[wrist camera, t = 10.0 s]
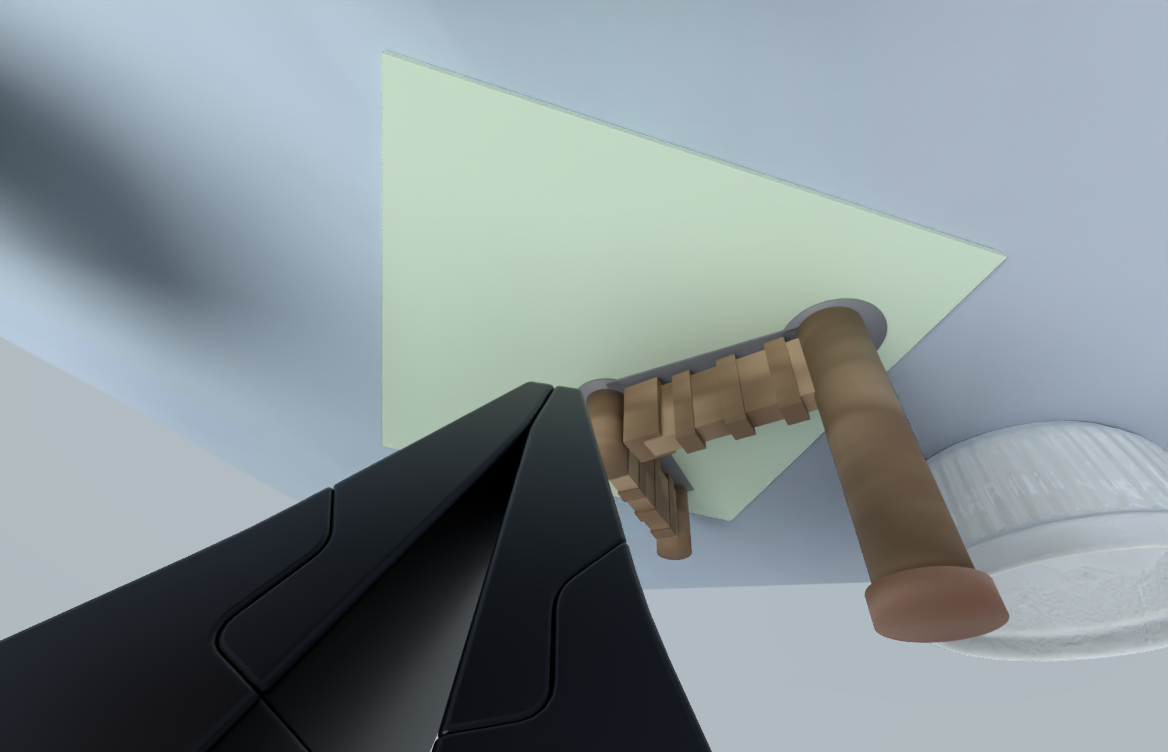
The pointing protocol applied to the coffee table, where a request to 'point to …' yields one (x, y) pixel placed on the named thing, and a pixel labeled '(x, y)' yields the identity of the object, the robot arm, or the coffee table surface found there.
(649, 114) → the coffee table surface
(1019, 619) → the ramekin
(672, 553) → the fence fixed panel
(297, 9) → the coffee table surface
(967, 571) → the fence swing panel
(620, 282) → the card
